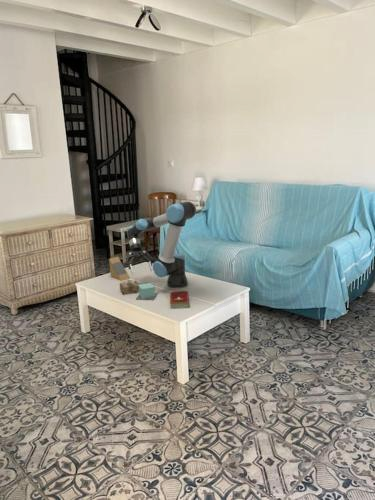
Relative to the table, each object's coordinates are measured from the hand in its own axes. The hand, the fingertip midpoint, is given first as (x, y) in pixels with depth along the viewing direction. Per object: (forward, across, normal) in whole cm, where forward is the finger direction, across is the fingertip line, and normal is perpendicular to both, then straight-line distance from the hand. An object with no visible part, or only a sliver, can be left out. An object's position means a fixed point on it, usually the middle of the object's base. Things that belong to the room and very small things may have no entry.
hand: (141, 271), depth 275 cm
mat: (+18, 0, -3) cm, 18 cm away
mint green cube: (+17, 0, -3) cm, 17 cm away
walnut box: (+6, +8, -14) cm, 18 cm away
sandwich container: (-17, +8, -38) cm, 42 cm away
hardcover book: (+31, -17, +9) cm, 36 cm away
